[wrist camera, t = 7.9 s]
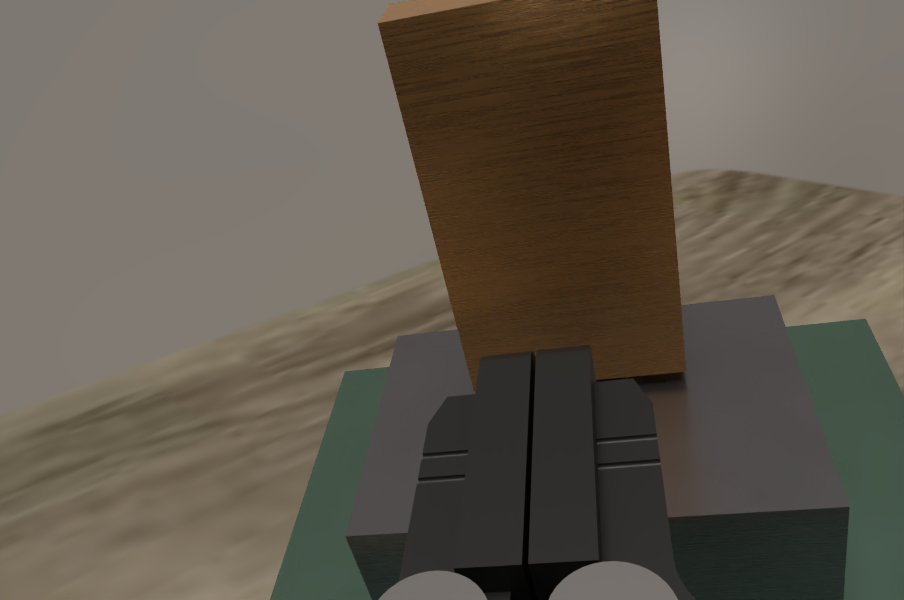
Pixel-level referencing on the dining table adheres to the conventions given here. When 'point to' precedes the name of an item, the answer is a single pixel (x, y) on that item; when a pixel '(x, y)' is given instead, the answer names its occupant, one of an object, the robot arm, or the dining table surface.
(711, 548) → the green tiered platform
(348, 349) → the dining table surface
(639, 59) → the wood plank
